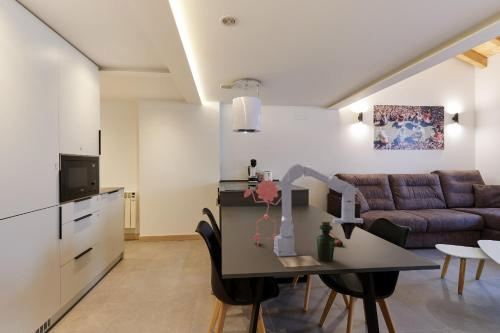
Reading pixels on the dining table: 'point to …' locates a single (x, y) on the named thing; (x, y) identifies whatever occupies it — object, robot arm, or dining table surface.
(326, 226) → the potion bottle
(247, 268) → the dining table surface
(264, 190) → the figurine
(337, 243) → the sunglasses case
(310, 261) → the placemat
